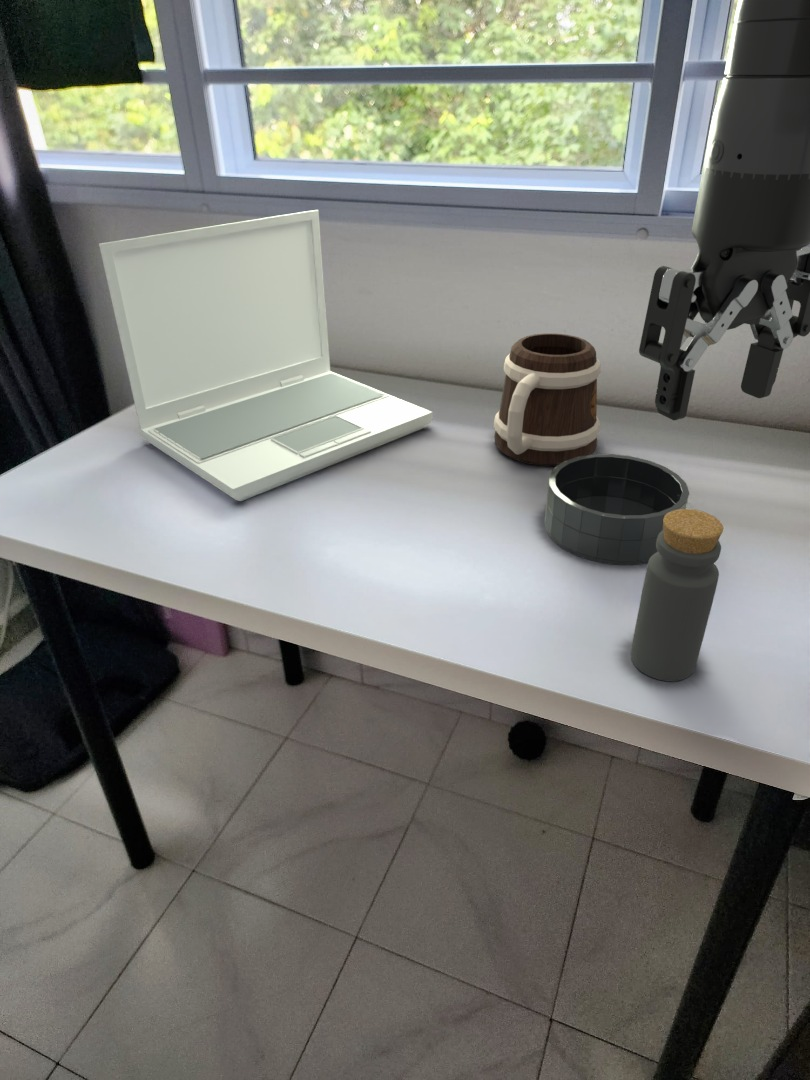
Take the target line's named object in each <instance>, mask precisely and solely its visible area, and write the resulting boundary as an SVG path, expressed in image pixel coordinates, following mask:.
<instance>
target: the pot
mask: <svg viewBox="0 0 810 1080" xmlns="http://www.w3.org/2000/svg"><path fill="white" fill-rule="evenodd" d="M547 480H548V482H547V491H546V501H545V512H544V528H545V532H546V533H547V535H548V537H549V538H550V539H551V540H552V541H553V542H554V543H555V544H556V545H557V546H559V547H560V548H561V549H563V550H565V551H566V552H568V553H570V554H572V555H574V556H576V557H579V558H582V559H584V560H587V561H592V562H595V563H601V564H608V565H616V566H617V565H618V566H634V565H644V564H648V561H649V559H650V557H651V556H652V555H653V554H655V553H657V552H658V551H657V548H656V542H657V537H658V535H659V533H660V532H661V531H662V530H664V528H663V519H664V516H665V515H666V514H667V513H669V512H671V511H674V510H679V509H687V506H688V502H689V497H690V491H689V488H688V485H687V482H686V481H685V480H684V479H683V478H682V477H681V476H680V475H679V474H678V473H676V472H674V471H673V470H671V469H670V468H668V467H666V466H664V465H662V464H660V463H657V462H654V461H651V460H648V459H644V458H641V457H636V456H632V455H624V454H614V453H599V454H598V453H595V454H594V453H592V454H590V455H586V456H579V457H575V458H573V459H570V460H567V461H564V462H562V463H561V464H559V465H558V466H554V468H553V469H552V471H551V472H550V473H549V475H548V479H547Z"/></svg>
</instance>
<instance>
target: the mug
mask: <svg viewBox="0 0 810 1080" xmlns="http://www.w3.org/2000/svg"><path fill="white" fill-rule="evenodd" d="M503 372H504V374H505V377H504V382H503V383H504V384H503V388H502V394H501V399H500V405H499V410H498V412H497V413H496V414H495V416H494V420H493V429H494V430H495V431H494V444H495V445H496V447H497V448H498V449H499V450H500V452H501V453H502V454H504V455H506V456H507V457H509V458H511V460H515V461H518V462H521V463H524V464H527V465H528V464H529V465H533V466H534V465H535V466H540V467H541V466H542V467H543V466H545V467H556V466H558V465H559V464H561V463H562V462H564V461H567V460H570V459H573V458H575V457H579V456H586V455H592V454H594V452H595V450H596V448H597V447H598V446H597V445H598V437H599V435H600V432H601V423H600V420H599V417H598V416H597V413H598V412H597V408H598V407H597V405H598V404H597V403H598V398H597V397H598V396H597V395H598V378H599V376H600V374H601V373H602V372H601V363H600V360H599V358H598V357H597V351H596V349H595V347H594V346H593V344H591V343H590V342H589V341H587V339H584V338H581V337H579V336H575V335H571V334H565V333H537V334H536V333H535V334H531V335H526V336H524V337H521V338H520V339H518V340H517V341H516V342H514V343H513V345H512V346H511V348H510V351H509V354H508V355H507V356H506V357H505V359H504V363H503Z"/></svg>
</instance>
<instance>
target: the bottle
mask: <svg viewBox="0 0 810 1080" xmlns="http://www.w3.org/2000/svg"><path fill="white" fill-rule="evenodd" d="M663 528H664V530H662V531H661V532H660V533H659V535H658V537H657V542H656V548H657V551H658V552H657V553H655V554H653V555H652V556H651V557H650V559H649V561H648V563H647V565H646V570H645V575H644V580H643V585H642V591H641V595H640V599H639V600H640V601H639V605H638V611H637V616H636V620H635V621H636V622H635V626H634V632H633V637H632V642H631V648H630V658H631V659H630V660H631V661H632V663H633V665H634V667H635V668H636V669H638V670H639V671H640V672H641V673H643V674H644V675H646V676H647V677H650V678H652V679H655V680H659V681H664V682H679V681H682V680H685V679H687V678H689V677H690V676H691V675H693V673H694V671H696V670H695V669H696V666H697V663H698V660H699V655H700V652H701V648H702V645H703V641H704V637H705V634H706V630H707V626H708V622H709V617H710V614H711V610H712V605H713V603H714V599H715V594H716V590H717V586H718V583H719V577H720V572H719V569H718V566H717V565H716V564H715V563H716V562H717V561H718V560H719V558H720V555H721V552H722V545H721V542H720V541H719V540H720V538H721V536H722V534H723V532H724V525H723V523H722V522H721V520H720V519H718V518H717V517H716V516H714V515H712V514H710V513H708V512H705V511H702V510H697V509H691V508H686V509H679V510H674V511H671V512H669V513H667V514H666V515H665V516H664V519H663Z"/></svg>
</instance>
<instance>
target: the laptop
mask: <svg viewBox="0 0 810 1080" xmlns="http://www.w3.org/2000/svg"><path fill="white" fill-rule="evenodd" d="M98 247H99V251H100V256H101V260H102V264H103V269H104V274H105V278H106V283H107V287H108V292H109V296H110V301H111V304H112V309H113V314H114V318H115V323H116V327H117V331H118V337H119V340H120V345H121V349H122V354H123V358H124V363H125V367H126V372H127V376H128V381H129V385H130V389H131V394H132V399H133V402H134V408H135V411H136V412H135V413H136V415H137V417H136V418H137V421H138V426H139V429H140V431H139V435H140V438H142V439H143V440H145V441H146V442H148V443H149V444H151V445H152V446H154V447H155V448H157V449H158V450H160V451H161V452H163V453H165V454H166V455H167V456H169V457H170V458H172V459H173V460H175V461H176V462H178V463H180V464H181V465H183V466H184V467H185V468H187V469H189V470H190V471H191V472H193V473H194V474H195V475H197V476H198V477H200V478H202V479H203V480H204V481H207V482H208V483H209V484H211V485H212V486H214V487H216V488H217V489H219V490H220V491H222V492H223V493H224V494H225V495H228V496H229V497H230V498H232V499H233V500H235V501H239V502H243V501H245V500H248V499H250V498H252V497H256V496H258V495H261V494H263V493H265V492H268V491H271V490H273V489H275V488H278V487H281V486H283V485H285V484H288V483H291V482H294V481H296V480H298V479H301V478H303V477H305V476H308V475H311V474H313V473H316V472H318V471H320V470H323V469H325V468H328V467H330V466H334V465H336V464H338V463H340V462H343V461H346V460H348V459H351V458H353V457H355V456H358V455H361V454H363V453H365V452H369V451H370V450H373V449H375V448H378V447H380V446H383V445H386V444H388V443H390V442H393V441H395V440H398V439H400V438H403V437H405V436H408V435H411V434H413V433H415V432H418V431H421V430H423V429H424V428H425V427H427V426H428V425H430V424H431V423H432V421H433V417H434V415H433V411H431V410H429V409H426V408H424V407H421V406H419V405H416V404H414V403H411V402H409V401H406V400H404V399H401V398H399V397H396V396H394V395H391V394H389V393H386V392H384V391H381V390H379V389H377V388H374V387H372V386H369V385H366V384H364V383H361V382H359V381H357V380H354V379H352V378H349V377H346V376H344V375H341V374H339V373H336V372H334V371H331V361H330V360H331V359H330V349H329V348H330V347H329V335H328V321H327V320H328V319H327V306H326V294H325V279H324V265H323V253H322V240H321V225H320V211H319V209H314V210H307V211H299V212H294V213H287V214H281V215H280V214H279V215H274V216H267V217H262V218H261V217H260V218H255V219H247V220H242V221H236V222H231V223H230V222H229V223H223V224H217V225H210V226H205V227H197V228H192V229H185V230H178V231H173V232H165V233H159V234H152V235H146V236H140V237H133V238H126V239H120V240H115V241H114V240H113V241H108V242H101V243H98Z"/></svg>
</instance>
